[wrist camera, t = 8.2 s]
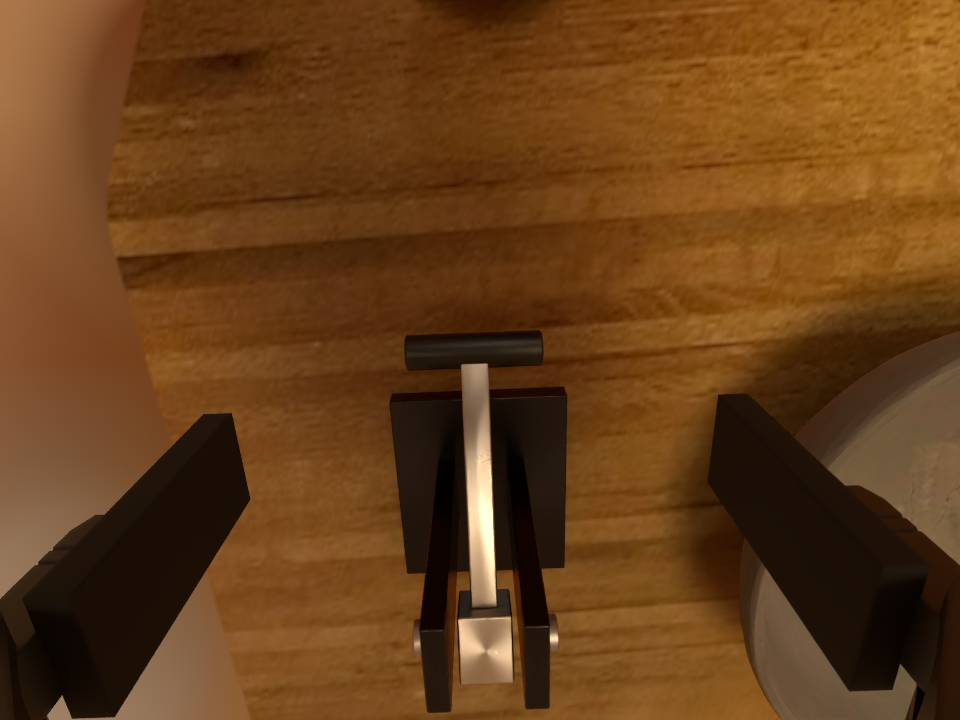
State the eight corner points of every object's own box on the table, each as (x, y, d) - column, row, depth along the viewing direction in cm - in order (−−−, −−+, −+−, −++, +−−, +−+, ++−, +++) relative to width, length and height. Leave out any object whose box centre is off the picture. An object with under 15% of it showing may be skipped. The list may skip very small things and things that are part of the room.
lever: (409, 334, 24) (401, 336, 22) (538, 329, 24) (544, 330, 22) (424, 652, 25) (418, 687, 23) (548, 648, 25) (555, 682, 23)
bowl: (773, 224, 30) (908, 259, 21) (1213, 320, 32) (1518, 392, 23) (628, 608, 39) (676, 754, 30) (980, 664, 41) (1129, 817, 32)
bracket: (392, 393, 33) (340, 551, 20) (564, 386, 33) (621, 540, 20) (409, 561, 37) (374, 779, 25) (561, 555, 37) (607, 771, 24)
